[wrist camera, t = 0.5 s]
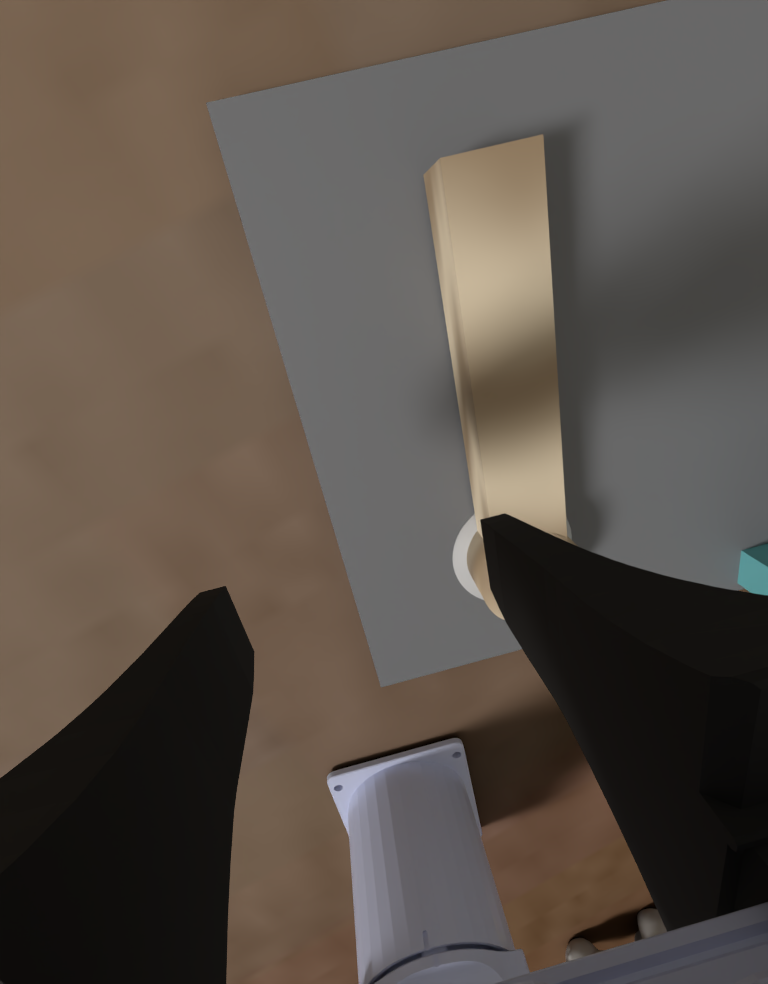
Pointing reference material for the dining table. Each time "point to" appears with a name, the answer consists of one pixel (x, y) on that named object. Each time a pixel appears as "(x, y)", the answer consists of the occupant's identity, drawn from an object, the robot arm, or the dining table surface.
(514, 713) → the dining table surface
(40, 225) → the dining table surface
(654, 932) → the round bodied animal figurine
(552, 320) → the beech link
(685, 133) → the light grey baseplate
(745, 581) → the plate
